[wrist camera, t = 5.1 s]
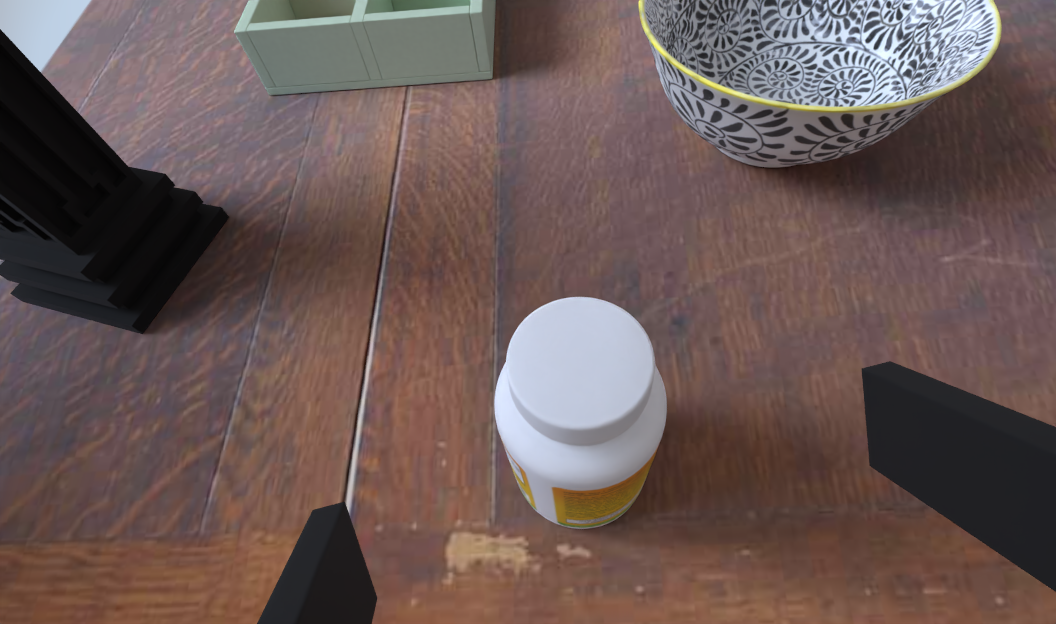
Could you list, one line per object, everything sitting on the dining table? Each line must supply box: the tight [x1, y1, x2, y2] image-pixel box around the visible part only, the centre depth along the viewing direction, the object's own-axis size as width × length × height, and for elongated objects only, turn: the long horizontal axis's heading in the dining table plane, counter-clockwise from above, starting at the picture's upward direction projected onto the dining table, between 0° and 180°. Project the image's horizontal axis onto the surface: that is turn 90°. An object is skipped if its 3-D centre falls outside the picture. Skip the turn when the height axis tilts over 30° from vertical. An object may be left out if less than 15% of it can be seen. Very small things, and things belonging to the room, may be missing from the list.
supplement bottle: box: [494, 297, 667, 529], centre depth 19 cm, size 5×5×10 cm
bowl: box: [639, 0, 1001, 167], centre depth 29 cm, size 16×16×8 cm
